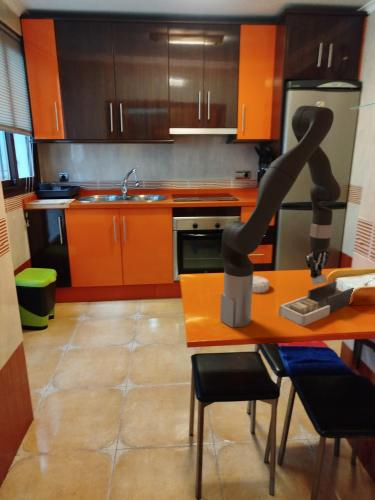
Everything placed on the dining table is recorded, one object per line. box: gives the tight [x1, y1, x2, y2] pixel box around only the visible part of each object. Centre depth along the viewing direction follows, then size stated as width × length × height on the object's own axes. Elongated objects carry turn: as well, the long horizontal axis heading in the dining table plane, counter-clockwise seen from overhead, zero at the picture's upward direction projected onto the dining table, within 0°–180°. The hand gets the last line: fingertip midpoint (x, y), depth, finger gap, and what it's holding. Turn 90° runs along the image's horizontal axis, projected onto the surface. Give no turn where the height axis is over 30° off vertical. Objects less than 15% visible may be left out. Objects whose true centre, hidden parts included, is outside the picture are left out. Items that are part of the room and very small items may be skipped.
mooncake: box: [252, 275, 270, 294], centre depth 143 cm, size 12×12×4 cm
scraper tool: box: [309, 263, 328, 286], centre depth 138 cm, size 2×5×9 cm, turn 34°
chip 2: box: [301, 298, 318, 313], centre depth 119 cm, size 4×4×4 cm
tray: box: [278, 295, 330, 327], centre depth 119 cm, size 14×10×4 cm
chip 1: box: [290, 302, 308, 315], centre depth 117 cm, size 4×4×4 cm
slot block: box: [307, 281, 355, 314], centre depth 126 cm, size 16×8×6 cm, turn 124°
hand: (315, 276), depth 139 cm, fingers closed on scraper tool, 2 cm apart
